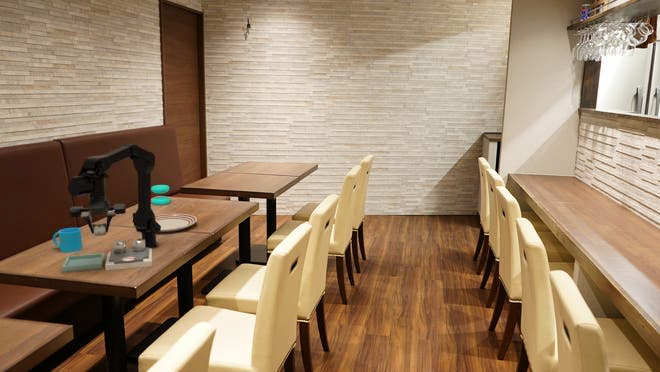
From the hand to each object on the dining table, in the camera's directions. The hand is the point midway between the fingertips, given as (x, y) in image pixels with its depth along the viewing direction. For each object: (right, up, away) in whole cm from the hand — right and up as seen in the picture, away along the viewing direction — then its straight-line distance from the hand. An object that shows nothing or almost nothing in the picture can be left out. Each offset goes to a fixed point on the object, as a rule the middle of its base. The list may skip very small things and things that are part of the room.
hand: (99, 232), depth 198 cm
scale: (+9, -11, +6) cm, 16 cm away
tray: (-6, -12, +2) cm, 14 cm away
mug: (-22, -9, +20) cm, 31 cm away
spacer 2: (+4, -8, +8) cm, 12 cm away
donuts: (-10, +7, +104) cm, 105 cm away
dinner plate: (+8, -2, +55) cm, 56 cm away
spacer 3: (+11, -8, +10) cm, 17 cm away
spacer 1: (0, -1, 0) cm, 1 cm away
